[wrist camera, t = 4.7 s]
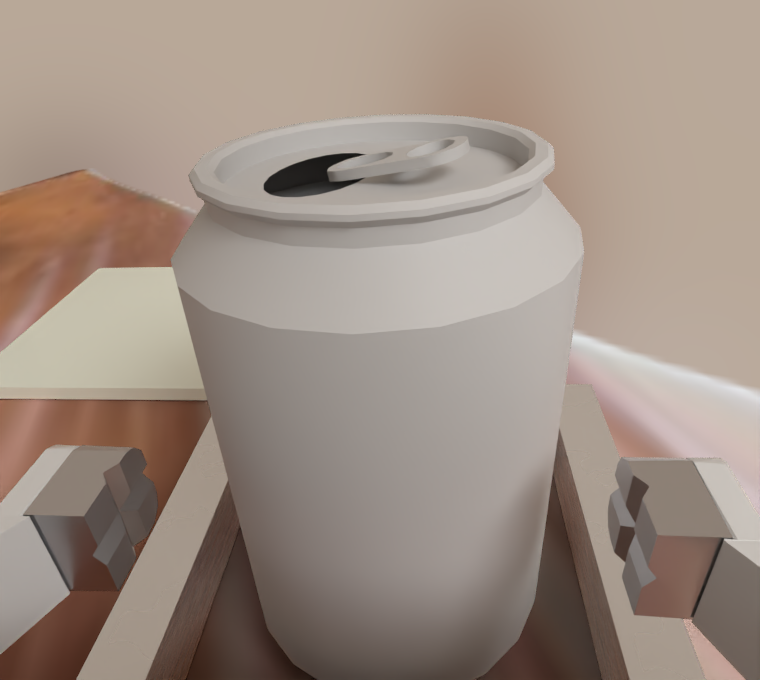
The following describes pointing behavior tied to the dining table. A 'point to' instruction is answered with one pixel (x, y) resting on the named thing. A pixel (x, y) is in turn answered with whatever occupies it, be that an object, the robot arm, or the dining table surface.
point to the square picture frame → (221, 525)
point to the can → (385, 380)
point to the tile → (108, 343)
